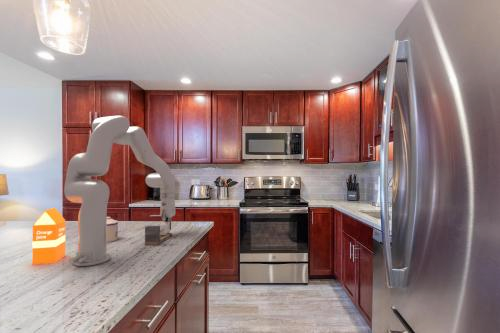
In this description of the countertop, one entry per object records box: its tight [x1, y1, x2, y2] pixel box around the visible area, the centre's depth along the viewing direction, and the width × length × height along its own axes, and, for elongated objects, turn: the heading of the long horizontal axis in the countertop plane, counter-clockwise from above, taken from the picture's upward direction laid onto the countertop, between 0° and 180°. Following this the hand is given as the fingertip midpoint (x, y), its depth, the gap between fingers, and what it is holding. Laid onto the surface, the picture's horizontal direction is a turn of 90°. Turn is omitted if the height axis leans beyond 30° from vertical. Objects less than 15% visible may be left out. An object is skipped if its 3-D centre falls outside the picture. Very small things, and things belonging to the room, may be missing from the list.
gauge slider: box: [158, 221, 171, 235], centre depth 135 cm, size 6×6×6 cm
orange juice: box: [31, 207, 66, 265], centre depth 103 cm, size 8×9×20 cm
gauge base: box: [144, 225, 173, 246], centre depth 131 cm, size 18×6×8 cm, turn 175°
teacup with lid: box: [106, 216, 119, 243], centre depth 133 cm, size 12×9×12 cm
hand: (167, 229), depth 141 cm, fingers closed
